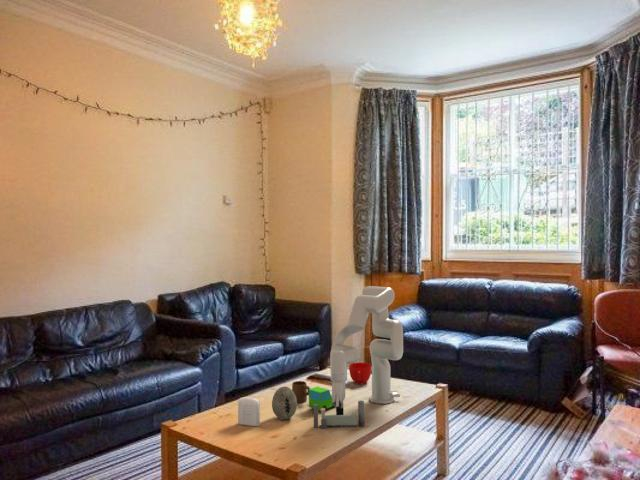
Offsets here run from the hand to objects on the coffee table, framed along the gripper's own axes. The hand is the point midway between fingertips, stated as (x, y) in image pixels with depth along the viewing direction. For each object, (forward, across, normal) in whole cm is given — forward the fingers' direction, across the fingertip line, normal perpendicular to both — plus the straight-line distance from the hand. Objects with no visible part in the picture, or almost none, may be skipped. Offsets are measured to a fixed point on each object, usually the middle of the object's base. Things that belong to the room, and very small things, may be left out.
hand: (339, 416), depth 229 cm
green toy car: (+3, -17, -11) cm, 21 cm away
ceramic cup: (+4, -60, +1) cm, 60 cm away
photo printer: (+2, +11, -40) cm, 42 cm away
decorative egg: (+3, +1, -26) cm, 26 cm away
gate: (+2, +5, 0) cm, 6 cm away
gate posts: (+2, +6, +1) cm, 7 cm away
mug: (+3, -23, -24) cm, 34 cm away
